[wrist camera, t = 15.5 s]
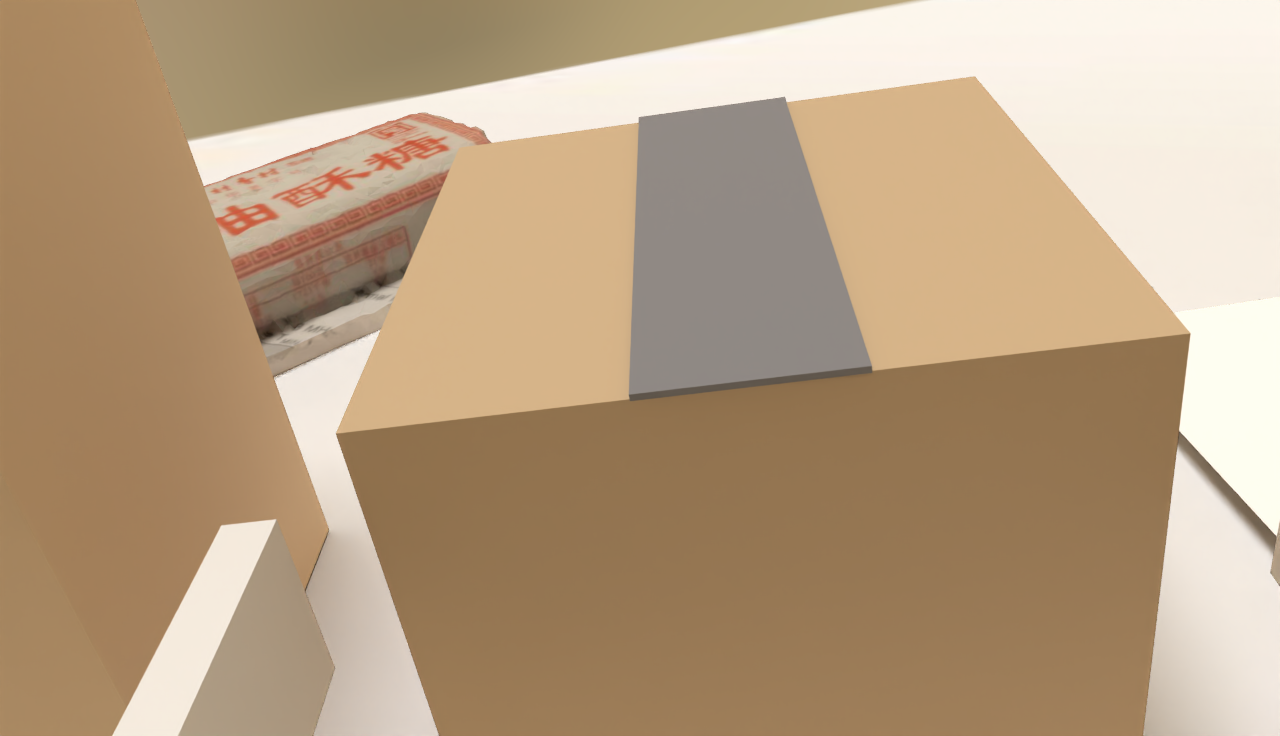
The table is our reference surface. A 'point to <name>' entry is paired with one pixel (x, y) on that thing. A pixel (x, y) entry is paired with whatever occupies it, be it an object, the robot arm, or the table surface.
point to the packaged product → (333, 231)
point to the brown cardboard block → (773, 432)
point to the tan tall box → (116, 372)
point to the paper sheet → (1237, 398)
